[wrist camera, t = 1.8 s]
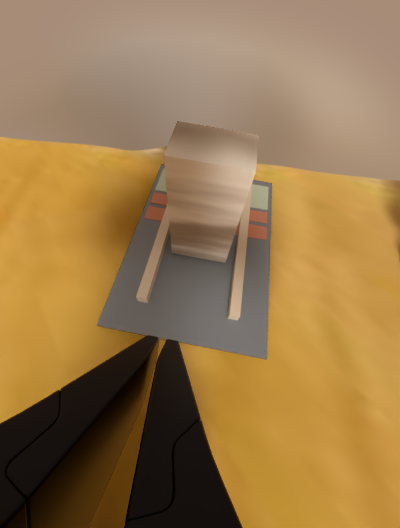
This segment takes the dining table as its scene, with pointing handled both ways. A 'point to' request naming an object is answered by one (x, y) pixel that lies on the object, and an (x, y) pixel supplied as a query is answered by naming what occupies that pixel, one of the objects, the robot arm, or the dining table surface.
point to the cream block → (207, 187)
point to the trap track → (196, 281)
